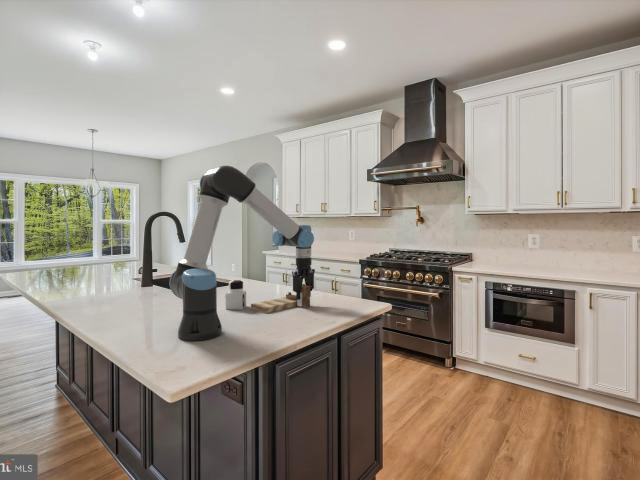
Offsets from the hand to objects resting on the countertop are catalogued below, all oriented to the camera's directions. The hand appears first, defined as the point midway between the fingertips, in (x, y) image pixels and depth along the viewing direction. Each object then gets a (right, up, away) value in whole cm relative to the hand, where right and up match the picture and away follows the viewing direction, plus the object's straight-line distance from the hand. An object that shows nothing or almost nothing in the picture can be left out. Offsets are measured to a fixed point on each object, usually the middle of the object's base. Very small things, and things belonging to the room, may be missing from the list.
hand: (303, 304), depth 174 cm
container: (-32, -1, -3) cm, 32 cm away
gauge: (-3, -1, +3) cm, 4 cm away
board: (-12, -1, 0) cm, 12 cm away
